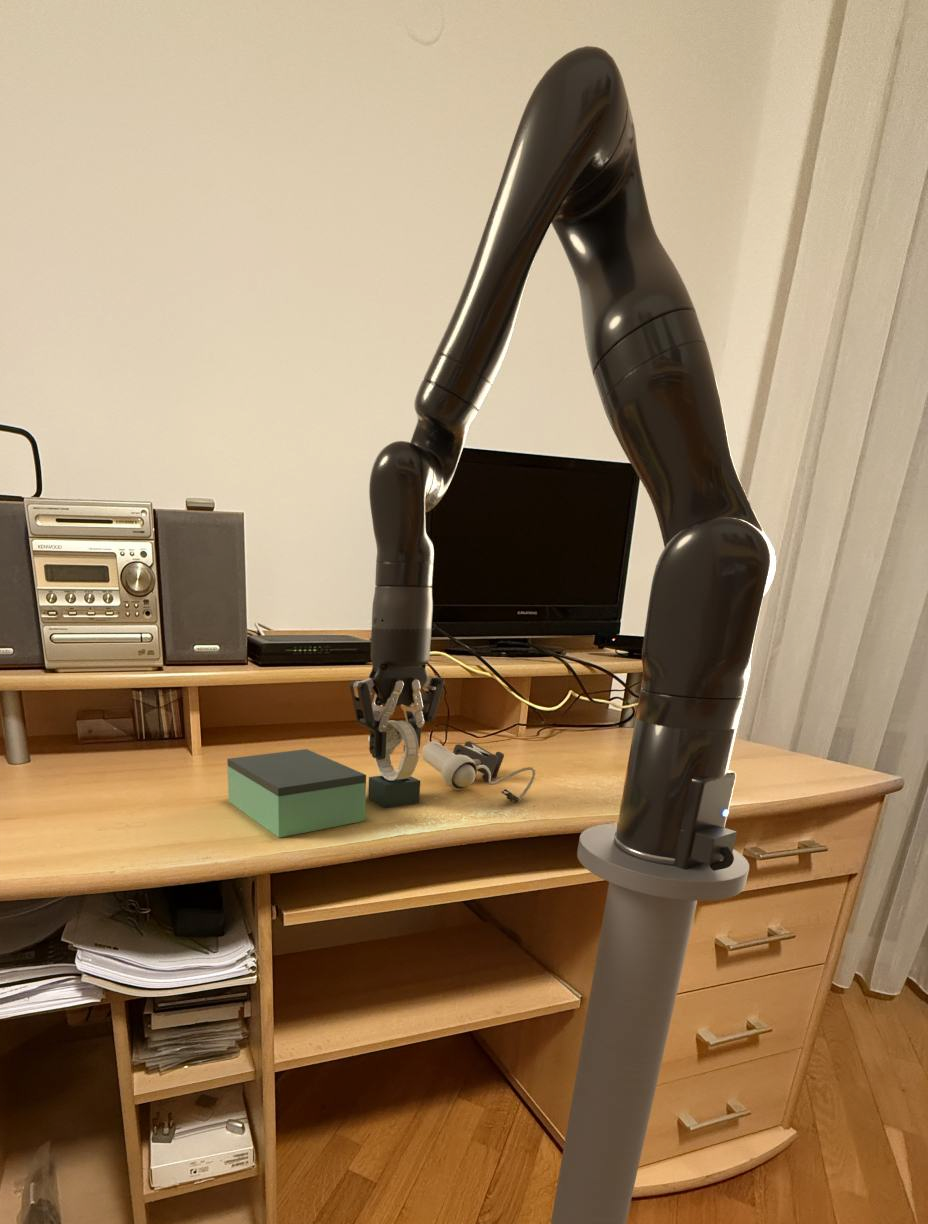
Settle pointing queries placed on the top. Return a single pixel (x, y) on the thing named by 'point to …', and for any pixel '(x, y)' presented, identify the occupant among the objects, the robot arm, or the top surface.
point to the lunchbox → (296, 791)
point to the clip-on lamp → (468, 765)
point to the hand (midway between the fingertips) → (394, 755)
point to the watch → (400, 783)
